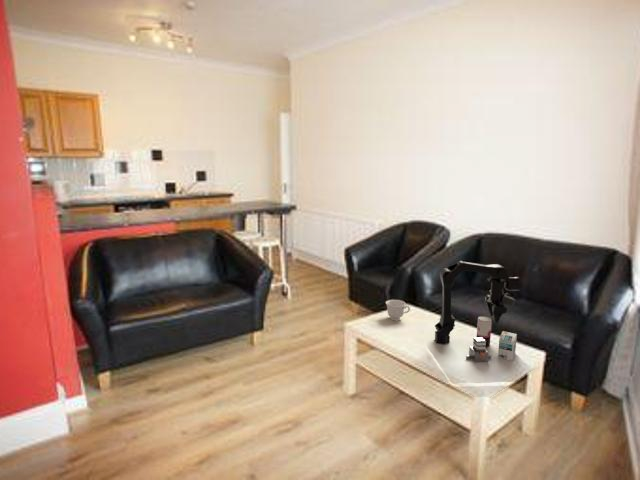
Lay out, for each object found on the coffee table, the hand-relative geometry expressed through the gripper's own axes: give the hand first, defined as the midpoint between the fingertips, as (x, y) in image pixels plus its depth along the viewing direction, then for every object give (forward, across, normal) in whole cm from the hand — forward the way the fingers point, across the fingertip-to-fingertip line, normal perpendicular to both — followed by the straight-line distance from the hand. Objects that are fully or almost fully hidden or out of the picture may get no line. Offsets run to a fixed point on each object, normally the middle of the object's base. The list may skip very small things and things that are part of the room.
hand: (494, 319), depth 201 cm
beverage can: (+14, -2, +5) cm, 15 cm away
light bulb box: (+14, -12, -4) cm, 19 cm away
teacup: (+15, +28, +47) cm, 56 cm away
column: (+13, -18, +11) cm, 25 cm away
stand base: (+14, -18, +11) cm, 26 cm away
